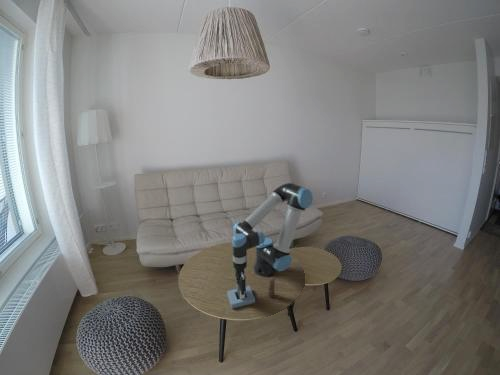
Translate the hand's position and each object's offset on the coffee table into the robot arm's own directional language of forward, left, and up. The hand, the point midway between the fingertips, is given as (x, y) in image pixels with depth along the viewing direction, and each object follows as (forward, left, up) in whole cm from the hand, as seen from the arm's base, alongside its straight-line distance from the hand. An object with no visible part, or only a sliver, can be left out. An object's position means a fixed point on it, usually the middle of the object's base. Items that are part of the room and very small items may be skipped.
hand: (240, 293), depth 140 cm
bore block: (0, 0, -4) cm, 4 cm away
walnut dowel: (-18, +4, -4) cm, 19 cm away
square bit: (0, 0, -4) cm, 4 cm away
